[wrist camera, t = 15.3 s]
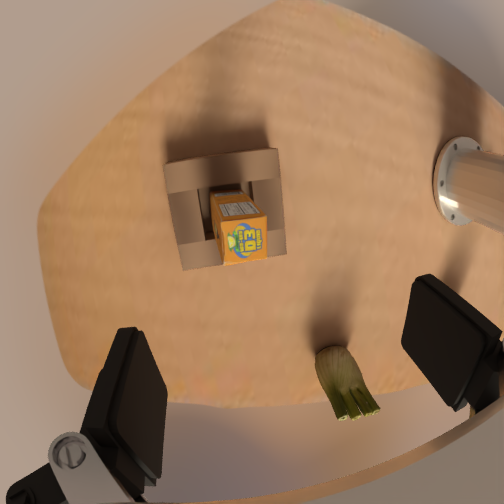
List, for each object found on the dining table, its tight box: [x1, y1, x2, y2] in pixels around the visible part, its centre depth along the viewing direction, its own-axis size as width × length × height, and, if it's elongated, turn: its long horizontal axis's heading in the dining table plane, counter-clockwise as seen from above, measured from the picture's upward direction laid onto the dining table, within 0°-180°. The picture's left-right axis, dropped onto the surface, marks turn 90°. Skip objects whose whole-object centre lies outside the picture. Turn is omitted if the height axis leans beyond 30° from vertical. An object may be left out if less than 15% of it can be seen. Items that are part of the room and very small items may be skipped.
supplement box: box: [210, 189, 267, 266], centre depth 24 cm, size 3×3×10 cm
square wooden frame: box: [163, 148, 287, 271], centre depth 28 cm, size 10×10×4 cm
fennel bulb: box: [315, 346, 380, 421], centre depth 33 cm, size 6×5×12 cm
